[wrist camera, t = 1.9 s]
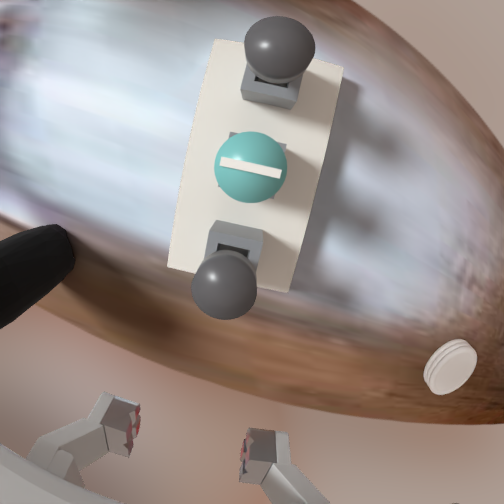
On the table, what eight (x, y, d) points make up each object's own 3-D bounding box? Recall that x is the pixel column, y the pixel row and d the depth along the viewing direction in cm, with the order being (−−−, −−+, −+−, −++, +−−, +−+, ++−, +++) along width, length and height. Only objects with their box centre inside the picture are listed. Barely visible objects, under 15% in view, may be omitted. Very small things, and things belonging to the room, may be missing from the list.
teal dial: (230, 132, 25) (222, 124, 19) (285, 144, 25) (294, 140, 19) (218, 186, 26) (207, 195, 20) (273, 198, 26) (278, 210, 20)
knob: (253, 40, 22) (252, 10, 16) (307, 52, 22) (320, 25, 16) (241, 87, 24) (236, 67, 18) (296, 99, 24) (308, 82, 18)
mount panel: (218, 47, 29) (208, 20, 22) (337, 74, 30) (357, 54, 22) (173, 258, 37) (154, 283, 29) (285, 282, 38) (292, 313, 30)
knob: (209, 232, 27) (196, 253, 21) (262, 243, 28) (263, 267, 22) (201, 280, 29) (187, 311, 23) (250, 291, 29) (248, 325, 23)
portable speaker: (25, 235, 36) (-69, 283, 18) (65, 209, 35) (-43, 253, 16) (49, 286, 39) (-35, 353, 20) (90, 267, 37) (-2, 340, 19)
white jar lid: (428, 392, 44) (436, 404, 41) (416, 361, 42) (425, 374, 38) (471, 361, 42) (480, 372, 39) (464, 326, 40) (474, 337, 37)
